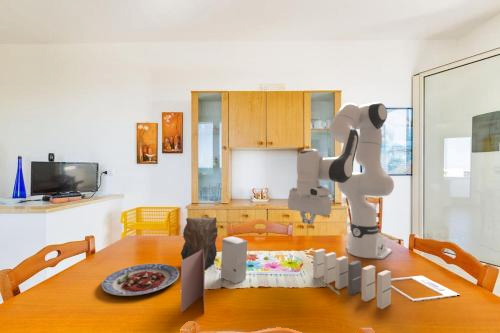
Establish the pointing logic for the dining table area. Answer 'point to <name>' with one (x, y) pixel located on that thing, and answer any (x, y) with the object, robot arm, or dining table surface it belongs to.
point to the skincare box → (233, 259)
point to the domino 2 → (329, 267)
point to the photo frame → (429, 284)
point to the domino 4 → (354, 277)
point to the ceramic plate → (140, 279)
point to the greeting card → (192, 279)
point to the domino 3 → (341, 272)
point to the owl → (200, 238)
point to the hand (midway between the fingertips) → (307, 223)
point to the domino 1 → (318, 263)
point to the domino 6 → (383, 289)
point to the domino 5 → (368, 283)
